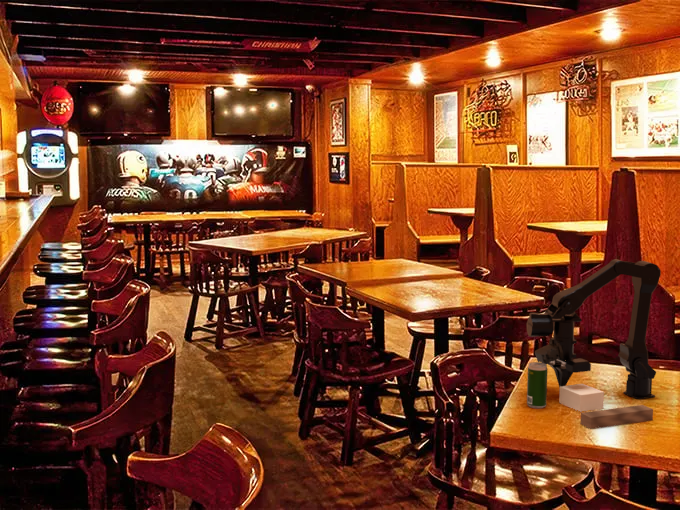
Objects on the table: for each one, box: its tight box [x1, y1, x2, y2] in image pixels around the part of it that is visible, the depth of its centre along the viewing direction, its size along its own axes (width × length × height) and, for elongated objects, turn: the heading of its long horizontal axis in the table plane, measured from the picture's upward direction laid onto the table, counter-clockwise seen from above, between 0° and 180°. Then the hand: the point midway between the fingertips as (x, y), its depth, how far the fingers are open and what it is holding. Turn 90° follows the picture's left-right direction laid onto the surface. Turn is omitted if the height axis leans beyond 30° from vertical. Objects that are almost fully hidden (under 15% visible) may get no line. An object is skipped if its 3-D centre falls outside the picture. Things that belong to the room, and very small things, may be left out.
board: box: [580, 404, 654, 430], centre depth 203 cm, size 20×4×3 cm, turn 110°
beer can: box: [526, 361, 548, 410], centre depth 216 cm, size 5×5×12 cm
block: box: [558, 383, 605, 413], centre depth 217 cm, size 8×9×5 cm
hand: (561, 388), depth 225 cm, fingers closed
